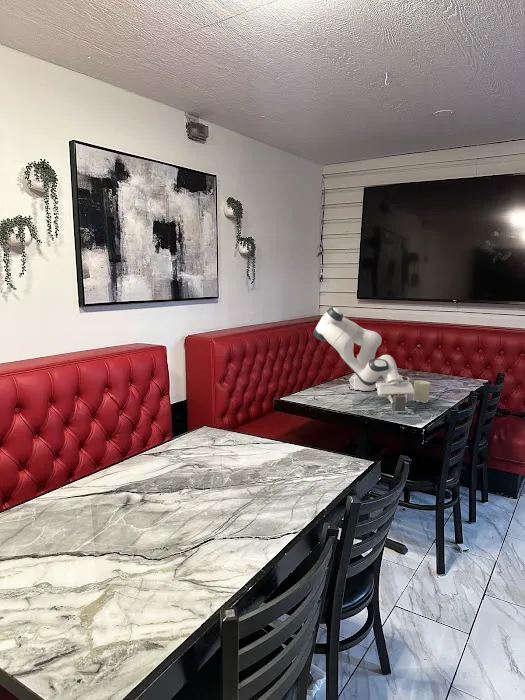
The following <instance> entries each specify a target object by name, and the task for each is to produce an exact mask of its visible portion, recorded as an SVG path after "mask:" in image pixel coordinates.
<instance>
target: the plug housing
mask: <svg viewBox="0 0 525 700" xmlns="http://www.w3.org/2000/svg"><path fill="white" fill-rule="evenodd" d="M391 398H392V399H394V401H395V403H394V404H392V410H394V411H405V406H406V403H405V401H406V396H404V395H400V392H399V393H398V395H392V397H391Z"/></svg>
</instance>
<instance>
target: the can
mask: <svg viewBox="0 0 525 700" xmlns="http://www.w3.org/2000/svg"><path fill="white" fill-rule="evenodd" d="M413 388H414V391H415V393H414V395H413V396H412V400H413V399H414V400H419V401H427V400H429V401H430V388H431V382H430V381H426V380H415V381H413Z"/></svg>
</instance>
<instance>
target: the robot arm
mask: <svg viewBox="0 0 525 700" xmlns="http://www.w3.org/2000/svg"><path fill="white" fill-rule="evenodd" d="M313 335H314V337H315V338H316V339H317V340H319V341H320V342H328V344H330V345H331V346H332V347H333V348H334V349H335V350H336V351H337V353H338V354H339V356H340V359H341V360H342V361H343V362H344V363H345V365H347V366H348V367H349V369H351V370H352V372H353V374H352V375H351V376H350V378H349V379H348V381H349V382H348V383H350V384H351V385H352V386H353V387H354V389H359V390H373V389H375V388H376V387H377V390H376V392H377V395H378V397H380V398H387V399H388V401H390V404H394V403H395V401H394V399H392V395H398V393H399V392H400V395H404V396H406V401H405V404H408V397H413V395H414V393H415V391H414V385H413V384H412V382H411V380H410V378H409V377H408V376H403V375H401V374H399V372H398V367H397V364H396V361H395V359H394V358H393V357H392V355H390V354H383V355H381V356H379V357H377V358H375V357H376V352H377V350H378V349H379V348H378V347H380V346H381V345H382V340H383V339H382V336H381V335H380V334H379V333H378V332H377V331H374V330H369V329H366V328H363V327H362V326H360V325H358V324H357V323H356V322H354V321H352V320H350V319H348V318H347V317H345V316H344V314H343V312H342V311H341V310H340V309H339V308H337V307H334V306H332V307H329V308H328V309H327V310H326V312H325V313H324V314H323V315H322V316H321V318H320V320H319V321H318V323H317V325H316V327H315V328H314V330H313ZM354 344H356V345H357V346H359V347H360V350H359V353H357V355H356V357H355V355H354V346H355V345H354ZM380 377H382V378H383V380H381V381H379V378H380Z"/></svg>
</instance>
